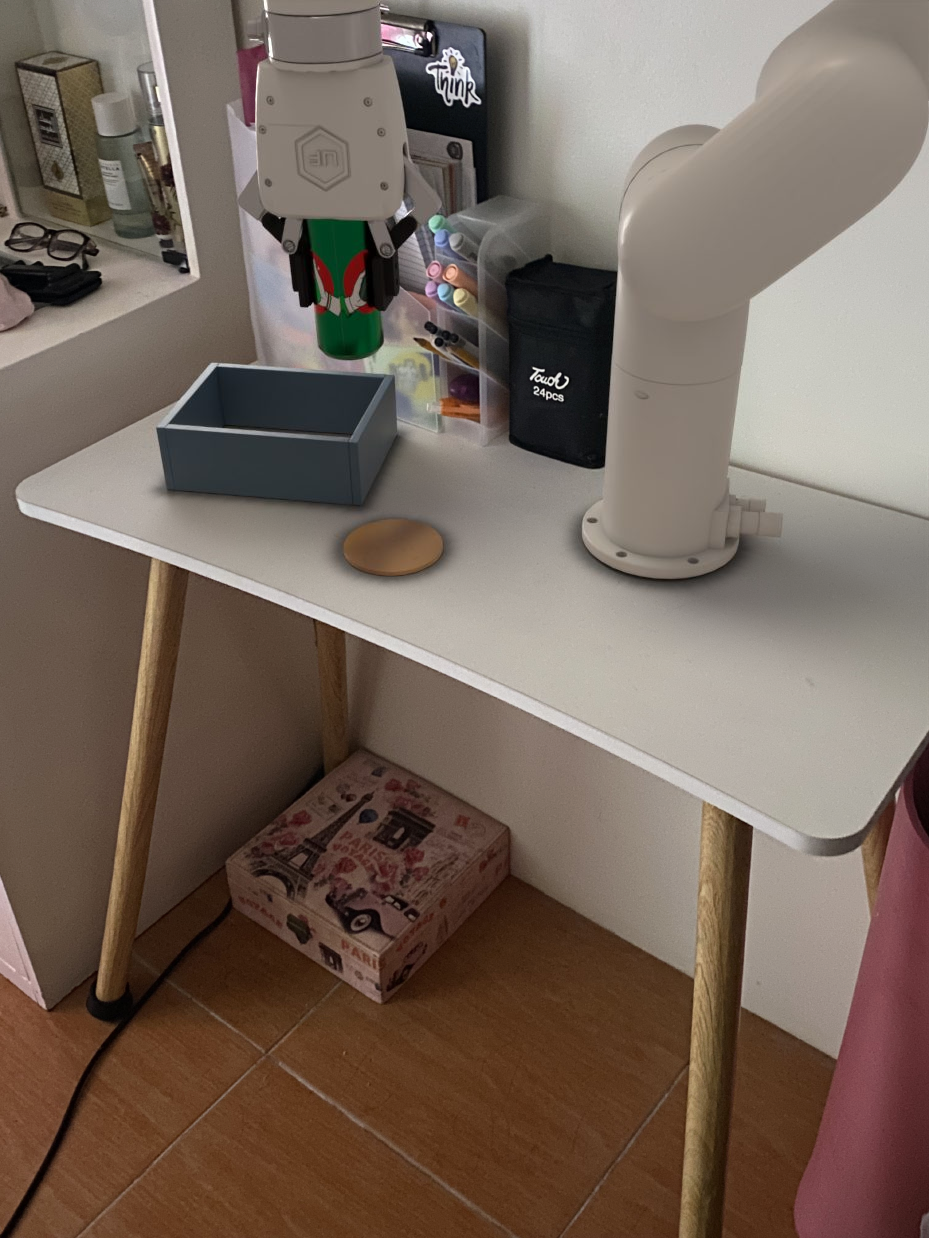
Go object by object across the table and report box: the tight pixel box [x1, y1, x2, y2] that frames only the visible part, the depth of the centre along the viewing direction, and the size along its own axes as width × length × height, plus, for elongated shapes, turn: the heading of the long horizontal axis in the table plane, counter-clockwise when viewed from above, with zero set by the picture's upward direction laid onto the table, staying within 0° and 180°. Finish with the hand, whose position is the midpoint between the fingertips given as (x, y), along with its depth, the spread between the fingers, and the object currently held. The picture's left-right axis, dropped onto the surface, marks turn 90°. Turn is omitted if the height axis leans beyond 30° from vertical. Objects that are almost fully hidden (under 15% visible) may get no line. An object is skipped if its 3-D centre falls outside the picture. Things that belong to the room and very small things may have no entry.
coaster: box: [342, 518, 444, 577], centre depth 98 cm, size 8×8×1 cm
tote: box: [155, 362, 398, 506], centre depth 109 cm, size 18×14×6 cm
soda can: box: [305, 219, 385, 361], centre depth 90 cm, size 5×5×12 cm
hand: (347, 300), depth 91 cm, fingers closed on soda can, 5 cm apart
